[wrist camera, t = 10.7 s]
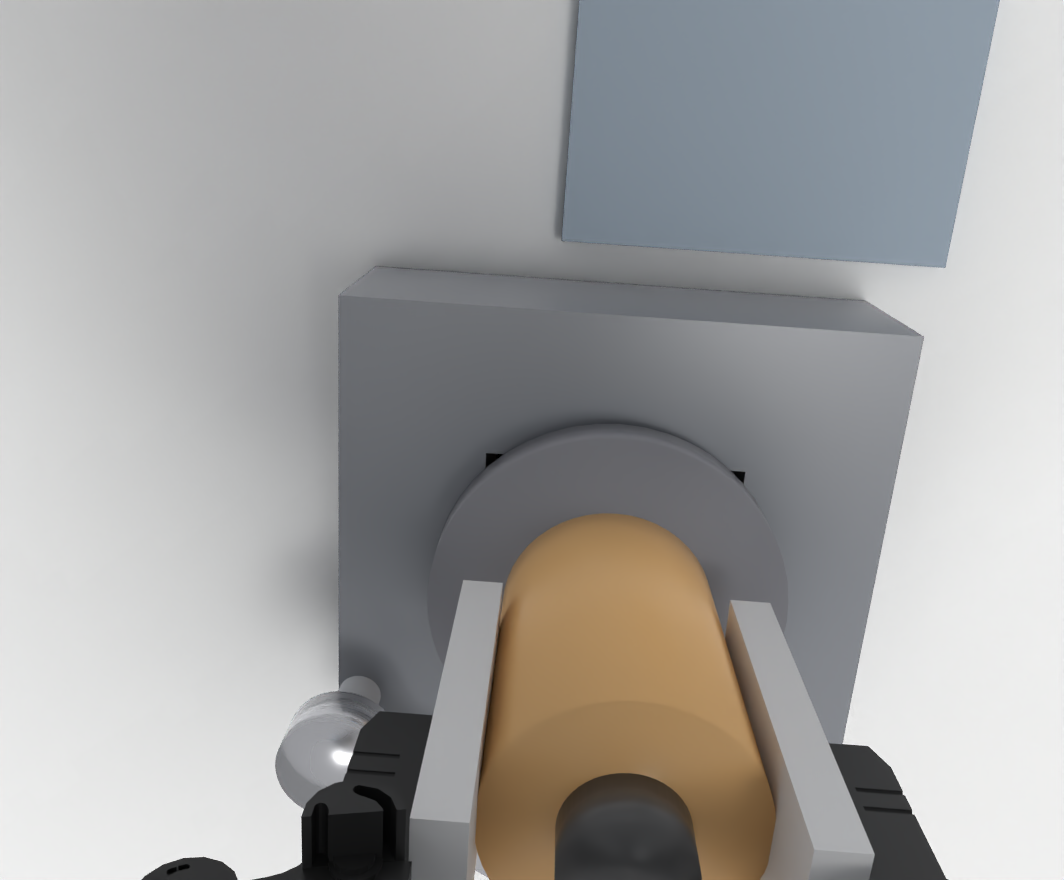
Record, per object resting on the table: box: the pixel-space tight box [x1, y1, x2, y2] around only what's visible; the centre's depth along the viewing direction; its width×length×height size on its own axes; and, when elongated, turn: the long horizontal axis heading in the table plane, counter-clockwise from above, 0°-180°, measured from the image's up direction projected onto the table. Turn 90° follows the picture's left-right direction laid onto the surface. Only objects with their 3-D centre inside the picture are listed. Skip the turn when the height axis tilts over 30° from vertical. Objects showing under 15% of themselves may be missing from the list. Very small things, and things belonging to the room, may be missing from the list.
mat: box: [562, 0, 1000, 268], centre depth 21 cm, size 9×9×1 cm
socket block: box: [339, 266, 924, 744], centre depth 23 cm, size 12×12×5 cm
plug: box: [427, 424, 789, 880], centre depth 19 cm, size 8×8×13 cm
